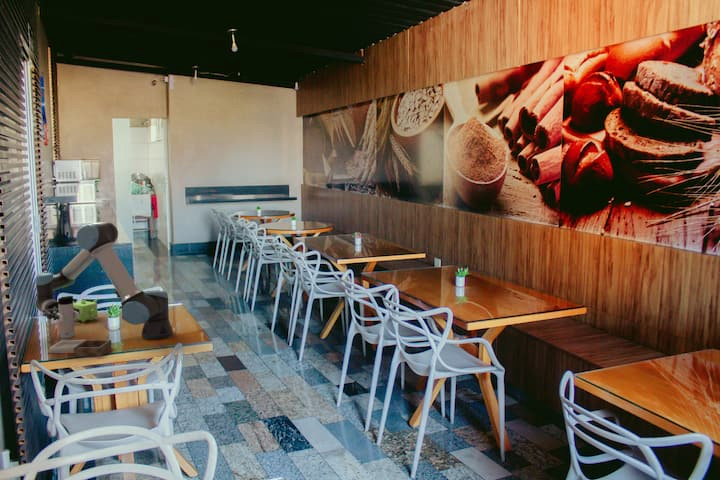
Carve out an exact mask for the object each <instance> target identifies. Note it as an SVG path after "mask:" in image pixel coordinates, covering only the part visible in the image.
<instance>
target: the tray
mask: <svg viewBox="0 0 720 480" xmlns="http://www.w3.org/2000/svg"><path fill="white" fill-rule="evenodd" d="M85 340H86V339H68V340H62V339H60V341H58V342H56V343H55V344H53V345H52V346H50V347H49V350H48V351H49V354H74V347H76V346H77V345H79V344H80V343H82V342H83V341H85Z"/></svg>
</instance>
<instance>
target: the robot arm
mask: <svg viewBox="0 0 720 480" xmlns="http://www.w3.org/2000/svg"><path fill="white" fill-rule="evenodd" d="M75 237H76V239H75V240H76V243H77V245H78V246H79V247H80V249H82V250H80V251H79V253H77V255H75V256H74V257H73V258H72V259H71V260H70V261H69V262H68V263H67V265H65V266H64V267H63V268H62V270H60V272H58V273H56V274H53V273H52V272H42V273H41V272H40V273H38V274H36V276H35V285H36V286H35V288H36V299H35V301H34V306H35V307H36V309H37V310H38V311H39V312H42V313H41V314H42V316H44V317H46V318H47V319H48V320H52V319H53V321H57V320H58V321H59V320H60V321H62V322H63V321H64V319H63V315H61V314H59V308H58V300H55V291H56V290H59V289H63V288H66V287H67V288H68V287H70V286H72V285H73V284H75V282H76V279H77V277H78V276H79V275H80V274H81V273H82V272H83V271H84V270H86V268H88V266H89V265H90V264H91V263H92V262H93V261H95V259H96V260H97V261H98V263H99V264H100V266H101V267H102V270H103V271H104V273H106V276H107V277H108V279H109V280H110V281H111V284H112V285H113V287H114V288H115V290H117V292H118V293H119V295H120V297H121V298H120V299H121V301H120V305H121V317H122V316H123V318H124V319H123V320H125V322H127V323H129V324H130V325H134V326H137V325H141V324H143V326H142V329H141V338H142V339H143V340H150V341H152V340H153V341H154V340H155V341H156V340H163V339H167V338H170V337H173V335H174V329H173V326H172V325H171V322H170V318H169V317H170V316H169V314H170V313H169V312H170V311H169V293H168V292H167V291H165V290H146V291H144V290H141V289H139V288H138V286H137V285H136V283H135V282H134V281H135V280H133V278H132V276H131V275H130V274H129V271H128V270H127V269H126V267H125V266H124V264H123V262H122V260H121V259H120V258H119V255H118V254H117V252H116V251H115V249H114V244H115V242H116V241H117V240H118V237H119V231H118V228H117V226H116V225H115V224H114V223H112V222H110V221H100V222H93V223H86V224H84V225H81V226H80V228H79V229H78V230H77V232H76V235H75ZM122 306H123V308H122ZM73 308H74V317H75V318H77V319H79V314H80V312H79V309H78V308H75V307H73Z"/></svg>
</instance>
